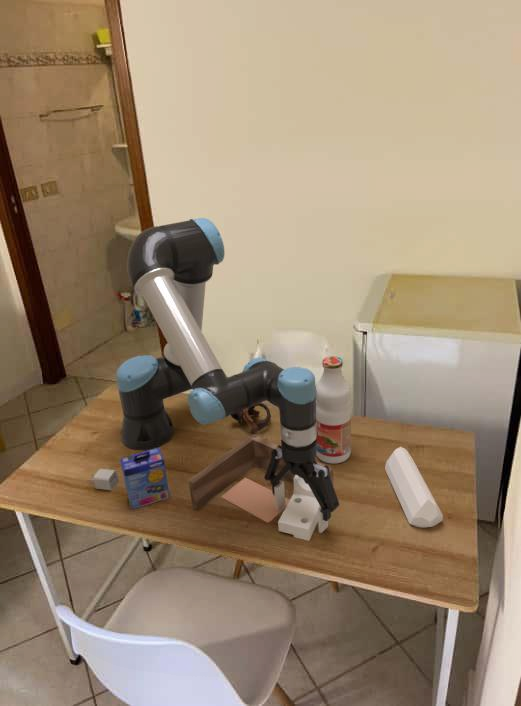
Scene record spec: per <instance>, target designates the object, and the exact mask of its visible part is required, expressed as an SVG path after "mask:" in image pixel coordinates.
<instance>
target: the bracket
mask: <svg viewBox="0 0 521 706" xmlns="http://www.w3.org/2000/svg"><path fill="white" fill-rule="evenodd" d="M293 479H294V483H293V494H292V495H291V497H290V498H289V499H290V501H289V503H288V505H287V506H286V508H285V509H284V510H283V511H282V514H281V516H280V518H279V520H277V524H278V531H279V532H281V533H285V534H290V535H293V538H296V539H300V540H304V541H306V542H307V541H309V542H310V540H311V538H312V535H313V534H314V532H315V529H316V526H317V525H318V509H319V508H320V507H321V506H320V505H319V503H318V501H317V499H316V498H315V496H314V494H313V492H312V490H311V489H310V487H309V485H308V484H306V483H305V481H304V480H303V478H301V477H299V476H298V475H295V477H294V478H293Z"/></svg>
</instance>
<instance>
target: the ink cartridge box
mask: <svg viewBox="0 0 521 706" xmlns="http://www.w3.org/2000/svg"><path fill="white" fill-rule="evenodd" d="M119 459H120V460H119V461H120V467H121V471H122V476H123V481H124V486H125V490H126V494H127V499H128V502H129V506H130V509H131V510H134V509H137V508H141V507H145V506H148V505H151V504H155V503H157V502H162V501H165V500H168V499H170V498H171V495H170V491H169V484H168V478H167V471H166V464H165V463H166V462H165V458H164V456H163V453H162V450H161V449H160V447H155V448H151V449H147V450H145V451H143V452H139V453H133V454H131V455H127V456H124V457H121V458H119Z"/></svg>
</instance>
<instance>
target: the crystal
mask: <svg viewBox="0 0 521 706" xmlns="http://www.w3.org/2000/svg"><path fill="white" fill-rule="evenodd" d="M384 466H385V467H384V469H385V472H386V475H387V477H388V478H389V479H388V480H389V481H390V483H391V485H392V488H393V490H394V492H395V494H396V496H397V499H398V502H399V503H400V505H401V507H402V510H403V512H404V514H405V517H406V519H407V521H408V523H409V524H410V525H412V526H414V527H417V528H423V529H424V528H430V527H435V526H437V525H438V524H439V523H441V522H443V517H444V516H443V513H442V511H441V509H440V508H439V505H438V503H437V501H436V500H435V498H434V496H433V494H432V492H431V491H430V489H429V487H428V485H427V483H426V482H425V479H424V477H423V476H422V473H421V472H420V470H419V469H418V466H417V464H416V463H415V461H414V459H413V457H412V455H410V453H409V452H408V450H407V449H406V448H404V447H402V446H399V447H397V448H395V449H394V450H393V452H392V453H391V455H390V456H389V458H388V459H387V461H386V462H385V465H384Z"/></svg>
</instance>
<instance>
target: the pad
mask: <svg viewBox="0 0 521 706" xmlns="http://www.w3.org/2000/svg"><path fill="white" fill-rule="evenodd" d="M220 498H221V499H223V500H224V501H226V502H228V503H230V504H232V505H234V506H236V507H237V508H239V509H241V510H243V511H245V512H246V513H248V514H250V515H252V516H254V517H256V518H258V519H260V520H261V521H263V522H265V523H267V524H270V523H271V522H272V521H273V520H274V519H275V518H276V517H277V516H278V515H279V514H280V513H283V512H284V510H285V508H286V506H287V505H288V503H289V501H290V499H291V498H287V497H286V496H285V505H284V506H282V507H281V508H280V509H279V510H276V509H275V495H273V492H272V489H270V488H268V487H265V486H263V485H261V484H259V483H257V482H255V481H253V480H251V479H249V478H247V477H244V478H243V479H241V480H240V481H239V482H238V483H236V484H235V485H234V486H232V487H231V488H230V489H229V490H227V491H226V492H225V493H223V494H222V495H221V496H220Z"/></svg>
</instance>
